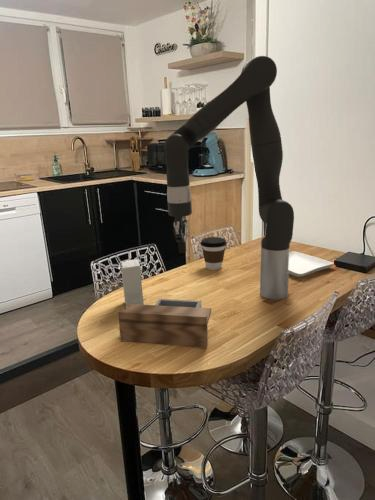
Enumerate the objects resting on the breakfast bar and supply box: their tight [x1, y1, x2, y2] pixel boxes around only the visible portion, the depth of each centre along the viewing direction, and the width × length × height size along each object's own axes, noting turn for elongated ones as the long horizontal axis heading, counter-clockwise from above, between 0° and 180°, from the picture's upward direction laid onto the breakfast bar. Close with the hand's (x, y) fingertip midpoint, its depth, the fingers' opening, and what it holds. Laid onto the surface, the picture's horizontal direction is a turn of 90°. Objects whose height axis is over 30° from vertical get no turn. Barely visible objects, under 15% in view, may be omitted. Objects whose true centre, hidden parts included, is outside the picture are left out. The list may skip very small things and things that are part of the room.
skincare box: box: [120, 259, 145, 309], centre depth 126 cm, size 8×6×15 cm
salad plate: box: [288, 250, 335, 278], centre depth 158 cm, size 21×21×3 cm
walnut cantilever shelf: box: [117, 304, 212, 349], centre depth 106 cm, size 24×10×9 cm, turn 79°
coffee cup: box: [199, 236, 228, 271], centre depth 160 cm, size 11×11×12 cm
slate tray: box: [154, 298, 202, 308], centre depth 116 cm, size 14×18×3 cm
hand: (182, 252), depth 126 cm, fingers closed
